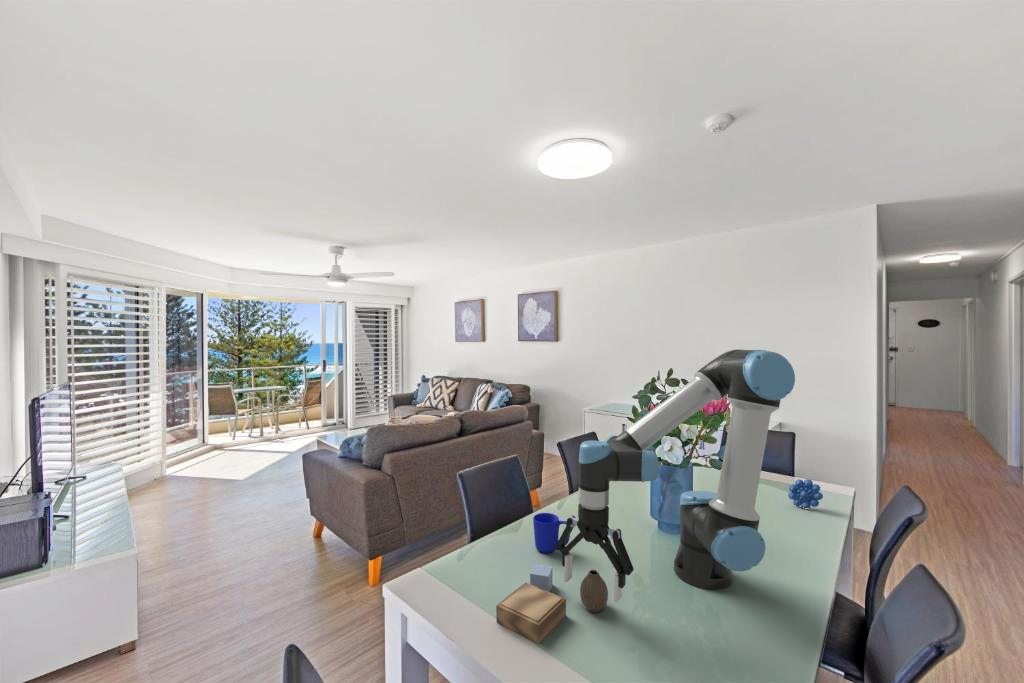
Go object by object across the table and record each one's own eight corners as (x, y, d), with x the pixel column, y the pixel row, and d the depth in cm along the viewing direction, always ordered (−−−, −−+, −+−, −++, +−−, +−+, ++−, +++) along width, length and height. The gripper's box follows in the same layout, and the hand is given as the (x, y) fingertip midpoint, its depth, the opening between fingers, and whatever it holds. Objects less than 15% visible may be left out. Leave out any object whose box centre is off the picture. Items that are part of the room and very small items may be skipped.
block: (552, 585, 117) (552, 566, 117) (548, 595, 112) (548, 576, 112) (534, 582, 118) (534, 564, 118) (530, 592, 114) (530, 573, 114)
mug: (570, 557, 131) (570, 525, 131) (531, 554, 134) (531, 522, 134) (571, 545, 139) (571, 514, 139) (535, 541, 142) (535, 511, 142)
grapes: (826, 510, 167) (826, 479, 167) (821, 515, 162) (821, 483, 162) (791, 502, 176) (791, 472, 176) (786, 506, 171) (786, 476, 171)
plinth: (566, 615, 104) (565, 597, 104) (538, 643, 94) (538, 624, 94) (525, 597, 111) (525, 581, 111) (496, 622, 101) (496, 604, 101)
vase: (577, 599, 110) (576, 565, 110) (603, 598, 111) (603, 564, 111) (583, 617, 103) (583, 580, 103) (611, 615, 104) (611, 579, 104)
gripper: (648, 512, 102) (646, 600, 102) (558, 489, 117) (557, 566, 117) (636, 522, 96) (635, 616, 96) (543, 496, 111) (542, 578, 111)
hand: (592, 589), depth 107 cm, fingers open, 13 cm apart
